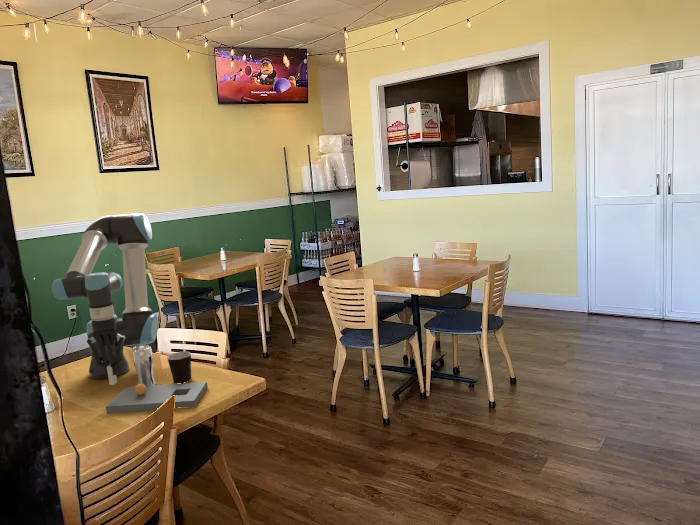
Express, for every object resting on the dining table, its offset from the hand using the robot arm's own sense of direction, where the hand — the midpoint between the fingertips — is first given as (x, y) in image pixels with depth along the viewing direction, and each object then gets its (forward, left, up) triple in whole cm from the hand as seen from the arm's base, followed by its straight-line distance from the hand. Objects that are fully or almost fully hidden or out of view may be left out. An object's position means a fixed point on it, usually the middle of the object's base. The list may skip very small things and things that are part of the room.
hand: (113, 383), depth 190 cm
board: (0, +15, -8) cm, 17 cm away
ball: (0, +9, -3) cm, 10 cm away
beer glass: (-15, +5, -8) cm, 18 cm away
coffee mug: (-19, +18, -8) cm, 28 cm away
